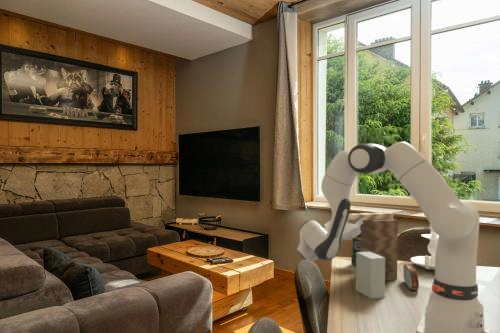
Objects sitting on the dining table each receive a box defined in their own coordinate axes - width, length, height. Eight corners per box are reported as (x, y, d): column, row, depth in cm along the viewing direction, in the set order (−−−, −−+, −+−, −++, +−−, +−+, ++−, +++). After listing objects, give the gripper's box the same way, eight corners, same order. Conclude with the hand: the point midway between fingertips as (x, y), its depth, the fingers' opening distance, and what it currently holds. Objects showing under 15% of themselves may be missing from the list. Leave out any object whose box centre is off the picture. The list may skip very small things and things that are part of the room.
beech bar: (353, 220, 150) (353, 214, 150) (348, 219, 154) (348, 213, 154) (393, 219, 156) (393, 213, 156) (387, 217, 160) (387, 212, 160)
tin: (419, 293, 136) (419, 272, 136) (410, 293, 136) (411, 271, 136) (409, 281, 151) (409, 261, 150) (402, 280, 151) (402, 261, 151)
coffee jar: (348, 265, 174) (349, 228, 173) (357, 262, 179) (358, 226, 179) (365, 269, 166) (366, 231, 166) (374, 266, 171) (375, 229, 171)
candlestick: (401, 270, 166) (402, 211, 166) (417, 259, 184) (418, 207, 184) (450, 280, 152) (451, 216, 152) (462, 267, 171) (462, 211, 171)
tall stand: (373, 281, 150) (374, 221, 150) (360, 274, 159) (360, 217, 159) (397, 278, 153) (397, 220, 153) (382, 272, 163) (383, 216, 162)
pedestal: (370, 298, 130) (371, 258, 130) (355, 289, 140) (356, 252, 139) (384, 297, 131) (385, 257, 131) (368, 288, 141) (369, 251, 141)
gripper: (340, 234, 139) (366, 216, 142) (317, 226, 159) (340, 210, 162) (347, 247, 140) (373, 229, 143) (323, 237, 160) (346, 221, 163)
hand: (355, 219), depth 153 cm, fingers open, 8 cm apart
